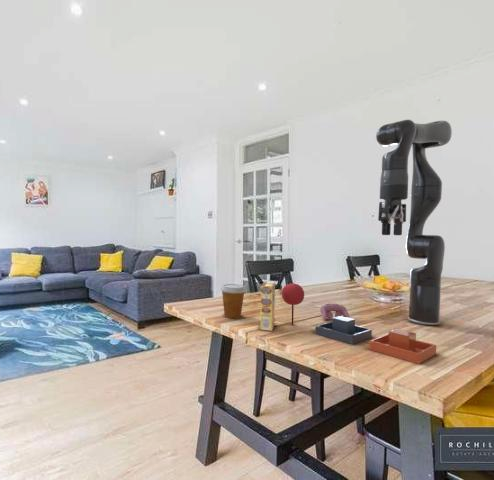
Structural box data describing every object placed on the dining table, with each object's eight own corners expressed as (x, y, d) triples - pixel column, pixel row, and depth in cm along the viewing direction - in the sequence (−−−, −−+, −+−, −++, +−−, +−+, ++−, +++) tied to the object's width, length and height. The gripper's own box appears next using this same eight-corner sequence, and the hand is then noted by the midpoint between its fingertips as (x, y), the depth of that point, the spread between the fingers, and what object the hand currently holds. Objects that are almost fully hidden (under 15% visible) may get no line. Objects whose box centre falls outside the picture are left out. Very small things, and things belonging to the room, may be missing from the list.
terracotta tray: (388, 341, 102) (388, 333, 102) (436, 354, 92) (436, 345, 92) (369, 349, 95) (369, 340, 95) (418, 363, 85) (419, 354, 85)
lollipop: (303, 323, 121) (304, 282, 121) (303, 329, 114) (305, 285, 113) (281, 320, 124) (282, 281, 123) (280, 326, 116) (281, 284, 116)
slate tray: (335, 327, 116) (335, 320, 116) (371, 337, 106) (372, 329, 106) (315, 333, 109) (315, 325, 109) (352, 344, 99) (352, 335, 99)
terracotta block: (395, 345, 97) (396, 328, 97) (415, 350, 93) (416, 333, 93) (388, 348, 94) (388, 331, 94) (408, 354, 90) (409, 336, 90)
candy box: (272, 331, 111) (273, 286, 110) (259, 329, 112) (260, 285, 112) (274, 324, 119) (275, 282, 118) (262, 323, 120) (263, 281, 120)
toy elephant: (346, 322, 128) (343, 305, 131) (351, 320, 124) (348, 302, 127) (320, 321, 129) (318, 304, 132) (324, 319, 125) (321, 301, 128)
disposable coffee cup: (218, 313, 134) (218, 283, 133) (241, 312, 135) (241, 283, 134) (223, 319, 124) (224, 288, 124) (248, 319, 125) (248, 288, 125)
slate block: (339, 330, 111) (340, 315, 111) (354, 334, 107) (355, 319, 107) (331, 332, 108) (332, 317, 108) (346, 337, 104) (347, 321, 104)
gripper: (397, 181, 99) (395, 235, 99) (416, 185, 107) (414, 235, 107) (370, 184, 105) (369, 234, 105) (390, 187, 113) (388, 235, 114)
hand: (391, 235), depth 106 cm, fingers open, 8 cm apart
